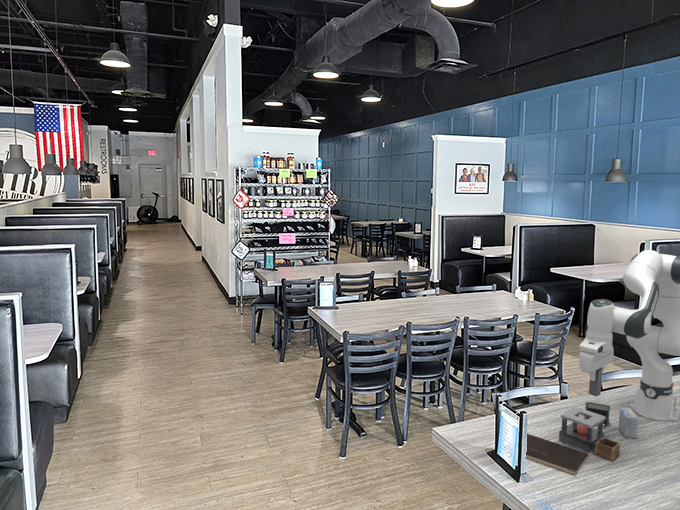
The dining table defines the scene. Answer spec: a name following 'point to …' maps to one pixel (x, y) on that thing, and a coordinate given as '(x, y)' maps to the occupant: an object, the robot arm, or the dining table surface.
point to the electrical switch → (598, 409)
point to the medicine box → (628, 423)
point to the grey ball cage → (570, 432)
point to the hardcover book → (554, 454)
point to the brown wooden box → (607, 449)
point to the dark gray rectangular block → (596, 384)
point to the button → (581, 429)
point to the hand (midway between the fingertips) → (595, 378)
